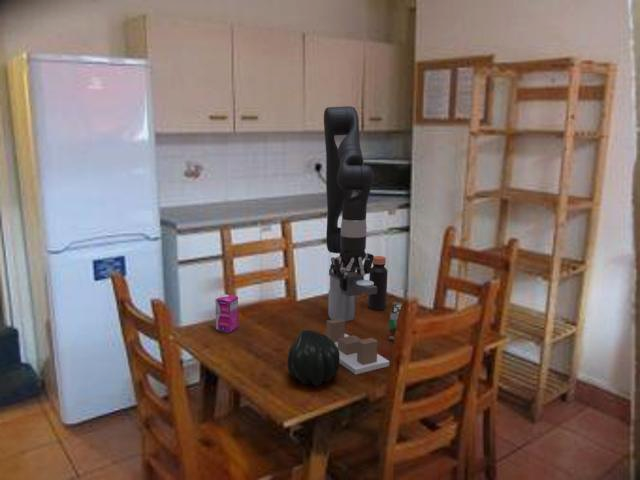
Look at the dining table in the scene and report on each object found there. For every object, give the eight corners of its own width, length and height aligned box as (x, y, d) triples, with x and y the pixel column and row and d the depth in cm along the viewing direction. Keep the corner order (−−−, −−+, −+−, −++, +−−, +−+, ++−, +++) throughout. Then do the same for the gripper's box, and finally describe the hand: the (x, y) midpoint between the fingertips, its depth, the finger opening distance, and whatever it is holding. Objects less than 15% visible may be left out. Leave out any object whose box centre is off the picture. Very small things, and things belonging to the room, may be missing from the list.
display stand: (314, 344, 180) (314, 321, 179) (345, 337, 186) (346, 315, 185) (355, 374, 160) (356, 348, 158) (389, 366, 166) (390, 340, 164)
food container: (407, 344, 182) (409, 315, 180) (388, 342, 183) (390, 313, 181) (409, 330, 194) (411, 303, 192) (391, 328, 195) (393, 301, 193)
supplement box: (215, 330, 190) (214, 298, 188) (224, 325, 196) (224, 293, 193) (230, 333, 188) (229, 301, 186) (239, 327, 193) (238, 295, 191)
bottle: (365, 305, 219) (367, 255, 215) (382, 304, 220) (384, 254, 216) (371, 311, 212) (373, 260, 208) (388, 310, 214) (390, 259, 210)
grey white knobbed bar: (379, 303, 161) (380, 283, 159) (364, 305, 158) (365, 285, 157) (339, 282, 179) (340, 264, 178) (325, 284, 177) (326, 266, 176)
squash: (358, 363, 155) (331, 316, 159) (320, 383, 144) (293, 331, 148) (330, 381, 164) (306, 336, 168) (293, 401, 154) (268, 352, 158)
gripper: (339, 238, 158) (337, 295, 162) (380, 234, 165) (378, 289, 169) (325, 233, 165) (324, 288, 168) (366, 229, 172) (364, 282, 175)
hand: (351, 288), depth 169 cm, fingers closed on grey white knobbed bar, 5 cm apart
